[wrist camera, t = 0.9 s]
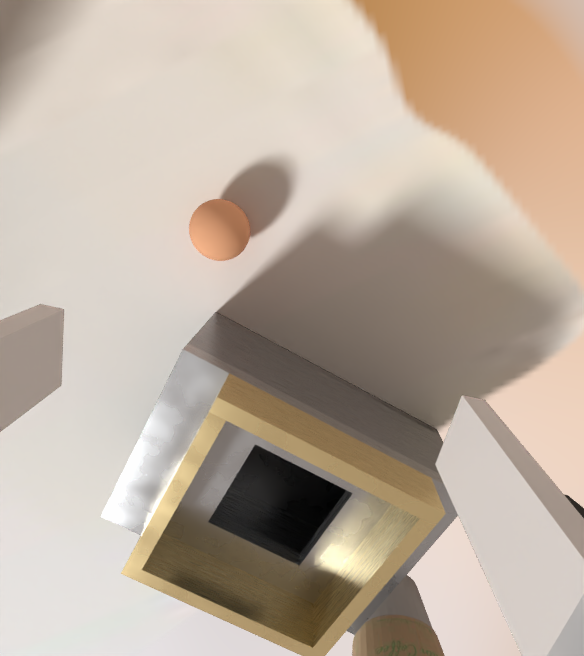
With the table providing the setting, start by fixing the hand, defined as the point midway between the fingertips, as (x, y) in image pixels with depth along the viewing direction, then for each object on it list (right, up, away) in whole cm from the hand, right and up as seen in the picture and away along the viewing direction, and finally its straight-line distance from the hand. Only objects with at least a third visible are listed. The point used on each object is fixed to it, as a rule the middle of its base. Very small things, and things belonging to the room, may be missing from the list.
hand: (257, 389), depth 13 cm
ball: (-4, +9, +16) cm, 19 cm away
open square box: (+1, -7, +21) cm, 22 cm away
